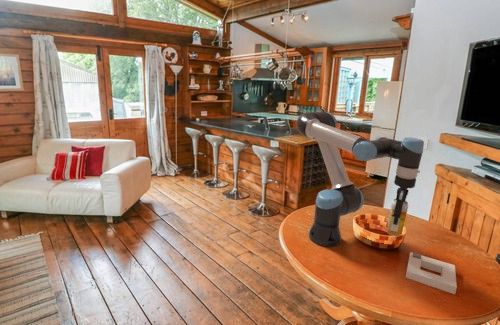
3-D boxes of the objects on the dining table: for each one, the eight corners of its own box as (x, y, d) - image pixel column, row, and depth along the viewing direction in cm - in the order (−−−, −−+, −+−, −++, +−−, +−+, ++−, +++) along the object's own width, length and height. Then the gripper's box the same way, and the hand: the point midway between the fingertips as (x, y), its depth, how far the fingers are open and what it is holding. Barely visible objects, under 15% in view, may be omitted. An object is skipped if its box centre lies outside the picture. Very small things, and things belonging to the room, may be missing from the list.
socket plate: (405, 277, 112) (407, 269, 111) (409, 258, 125) (410, 250, 124) (454, 294, 104) (457, 285, 103) (453, 271, 117) (455, 263, 116)
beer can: (403, 238, 119) (410, 205, 115) (387, 236, 121) (394, 203, 116) (399, 231, 125) (406, 199, 121) (384, 229, 126) (390, 197, 122)
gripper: (414, 185, 106) (402, 239, 112) (418, 172, 121) (406, 221, 128) (392, 180, 110) (381, 233, 116) (398, 168, 125) (388, 216, 132)
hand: (394, 227), depth 122 cm, fingers closed on beer can, 6 cm apart
